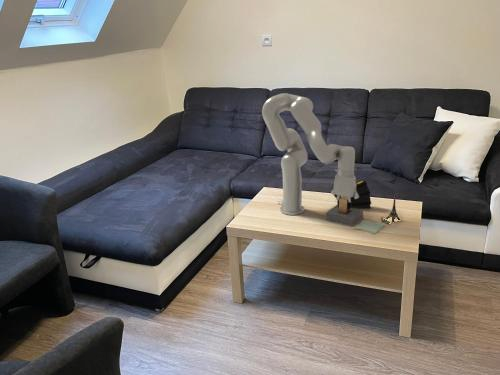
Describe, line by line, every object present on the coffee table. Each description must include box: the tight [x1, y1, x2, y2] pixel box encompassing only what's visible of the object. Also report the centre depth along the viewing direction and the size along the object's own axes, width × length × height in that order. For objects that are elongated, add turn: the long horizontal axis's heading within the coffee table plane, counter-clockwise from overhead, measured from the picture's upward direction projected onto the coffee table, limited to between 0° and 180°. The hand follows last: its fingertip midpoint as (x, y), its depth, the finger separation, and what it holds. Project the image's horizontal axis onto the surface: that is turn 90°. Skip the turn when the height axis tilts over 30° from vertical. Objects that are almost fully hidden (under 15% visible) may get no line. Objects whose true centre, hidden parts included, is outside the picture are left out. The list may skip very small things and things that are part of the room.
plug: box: [339, 196, 350, 214], centre depth 209 cm, size 4×4×10 cm
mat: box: [354, 219, 385, 235], centre depth 201 cm, size 10×10×1 cm
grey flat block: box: [325, 204, 364, 227], centre depth 211 cm, size 14×12×4 cm
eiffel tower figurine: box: [380, 196, 401, 226], centre depth 206 cm, size 15×10×13 cm
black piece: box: [351, 179, 372, 209], centre depth 222 cm, size 4×13×15 cm, turn 83°
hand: (344, 207), depth 209 cm, fingers closed on plug, 4 cm apart
